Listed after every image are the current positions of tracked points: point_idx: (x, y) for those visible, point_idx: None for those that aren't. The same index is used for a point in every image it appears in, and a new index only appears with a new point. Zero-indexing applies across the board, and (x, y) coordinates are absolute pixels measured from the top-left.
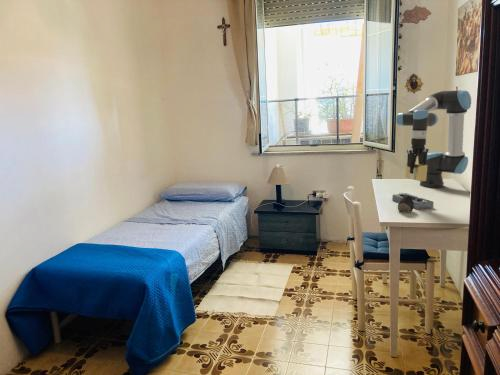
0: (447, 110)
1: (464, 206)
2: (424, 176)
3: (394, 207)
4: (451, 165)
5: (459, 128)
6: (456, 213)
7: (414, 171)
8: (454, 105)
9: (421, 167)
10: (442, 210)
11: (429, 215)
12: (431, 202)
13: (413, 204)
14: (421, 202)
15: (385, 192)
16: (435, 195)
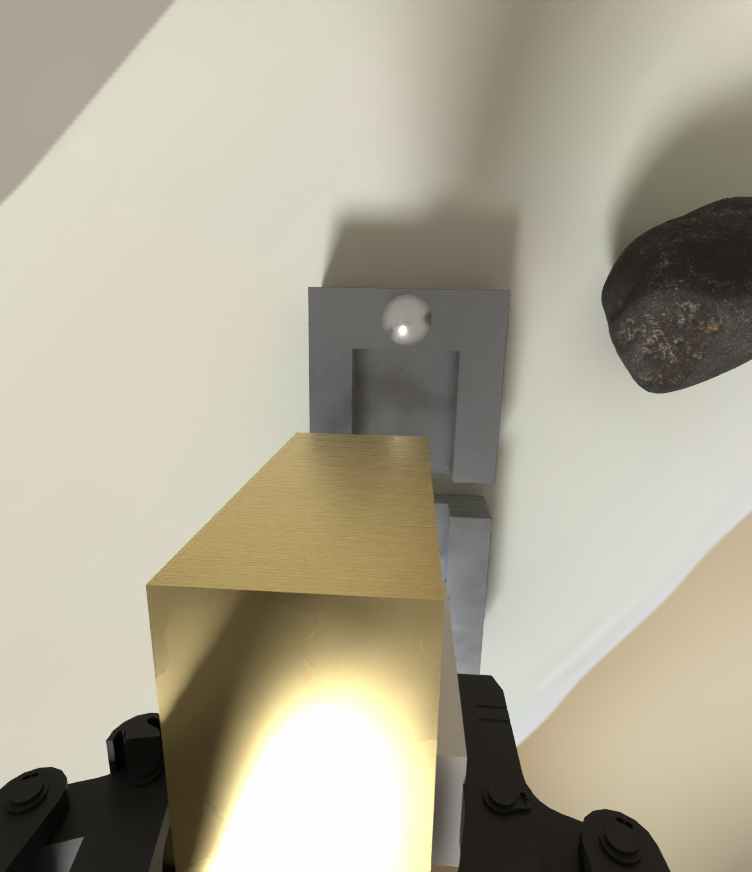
0: None
1: (10, 198)
2: (330, 456)
3: (639, 455)
4: None
5: None
6: (261, 23)
7: (447, 684)
8: None
9: (438, 569)
10: (307, 175)
11: (562, 80)
12: (337, 288)
13: (661, 231)
14: (449, 319)
15: None
16: (4, 599)
